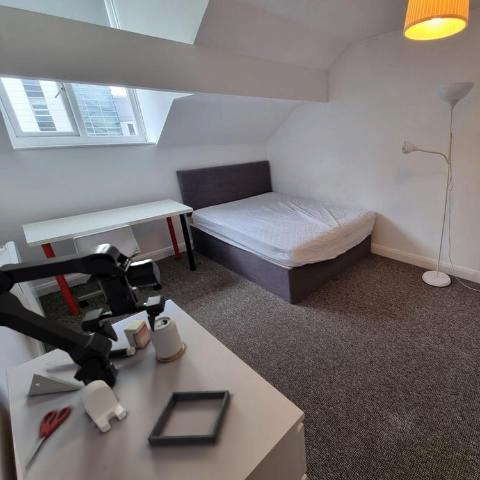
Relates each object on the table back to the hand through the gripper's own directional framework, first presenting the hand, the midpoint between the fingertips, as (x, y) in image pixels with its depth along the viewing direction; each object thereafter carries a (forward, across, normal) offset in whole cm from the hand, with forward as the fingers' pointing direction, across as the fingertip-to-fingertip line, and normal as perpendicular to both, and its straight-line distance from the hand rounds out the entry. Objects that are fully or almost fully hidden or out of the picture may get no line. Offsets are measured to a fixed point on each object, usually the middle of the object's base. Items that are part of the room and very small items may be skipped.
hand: (135, 335), depth 78 cm
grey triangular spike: (+14, +17, -2) cm, 22 cm away
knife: (+12, +18, -9) cm, 24 cm away
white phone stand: (+13, +8, +12) cm, 20 cm away
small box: (+13, +4, -13) cm, 19 cm away
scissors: (+12, +21, +13) cm, 27 cm away
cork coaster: (+13, -6, -4) cm, 15 cm away
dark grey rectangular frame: (+13, -13, +23) cm, 29 cm away
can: (+13, -6, -4) cm, 14 cm away
